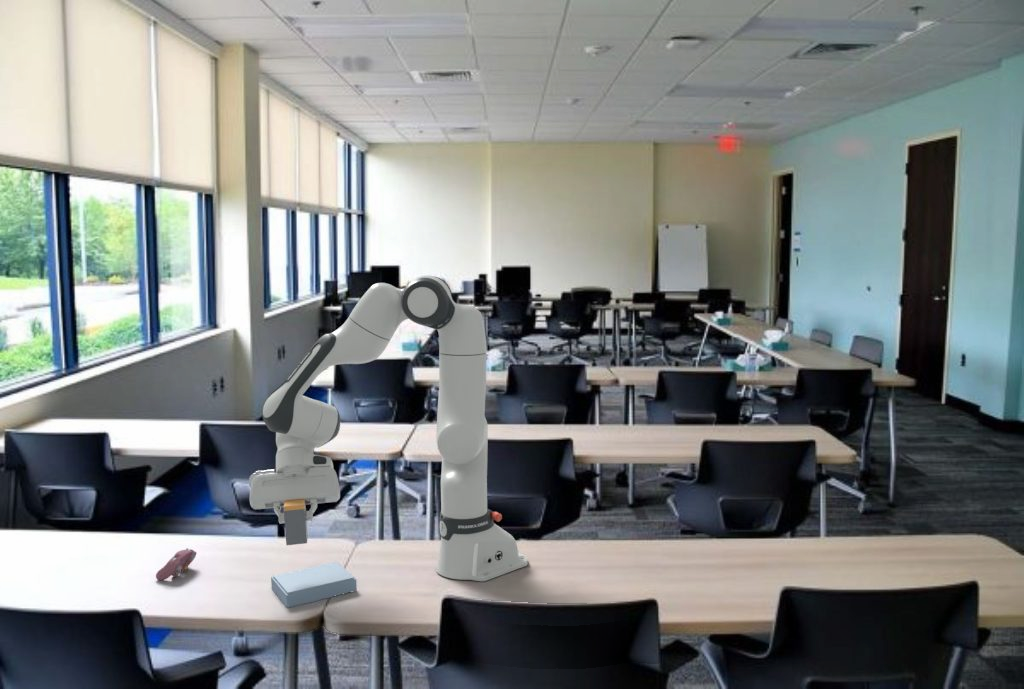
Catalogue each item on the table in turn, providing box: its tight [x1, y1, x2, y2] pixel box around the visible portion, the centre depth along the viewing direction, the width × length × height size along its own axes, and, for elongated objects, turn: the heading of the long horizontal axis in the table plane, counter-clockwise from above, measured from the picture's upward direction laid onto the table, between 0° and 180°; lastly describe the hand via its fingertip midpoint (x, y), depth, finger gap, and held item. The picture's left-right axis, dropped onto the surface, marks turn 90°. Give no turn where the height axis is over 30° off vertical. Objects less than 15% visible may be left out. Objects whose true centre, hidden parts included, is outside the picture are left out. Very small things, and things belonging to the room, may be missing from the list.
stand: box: [270, 561, 358, 609], centre depth 190 cm, size 16×12×3 cm
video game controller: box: [155, 547, 197, 582], centre depth 200 cm, size 10×5×7 cm, turn 170°
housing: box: [283, 499, 309, 546], centre depth 189 cm, size 4×4×9 cm
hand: (295, 521), depth 188 cm, fingers closed on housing, 4 cm apart
